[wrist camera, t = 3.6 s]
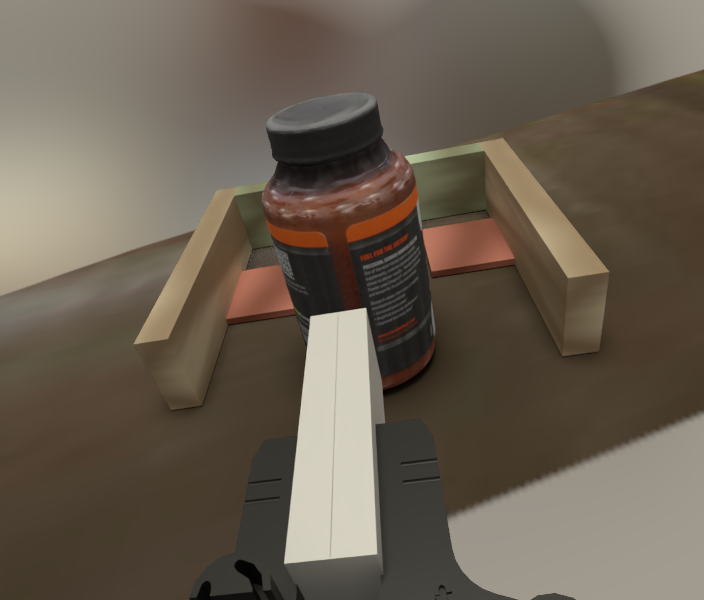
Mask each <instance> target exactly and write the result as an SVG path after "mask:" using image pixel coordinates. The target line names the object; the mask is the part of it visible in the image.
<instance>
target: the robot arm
mask: <svg viewBox="0 0 704 600" xmlns="http://www.w3.org/2000/svg"><path fill="white" fill-rule="evenodd" d="M248 483H249V486H248V487H247V492H246V497H245V505H244V508H243V513H242V518H241V523H240V529H239V534H238V539H237V544H236V550H235V553H233V554H230V555H226V556H223V557H221V558H220V559H218V560H217V561H215V562H214V563H213V564H211V565H210V566H208V567H207V568H206V570H205V571H204V572H203V573H202V575H201V576H200V577H199V578H198V580H197V581H196V583H195V585H194V588H193V590H192V593H191V595H190V597H189V599H190V600H517V599H513V598H510V597H506V596H502V595H498V594H495V593H492V592H490V591H487V590H484V589H482V588H481V587H479V586H478V585H476V584H475V583H473V582H472V581H471V580H470V579H469V578H468V577H467V576H466V575H465V574H464V573H463V572H462V570H461V569H460V567H459V565H458V563H457V562H456V560H455V557H454V553H453V550H452V545H451V540H450V533H449V528H448V522H447V516H446V510H445V504H444V498H443V492H442V486H441V481H440V475H439V469H438V463H437V457H436V451H435V445H434V439H433V436H432V434H431V433H430V431H429V430H428V429H427V427H426V426H425V424H424V423H423V422H422V420H421V419H413V420H405V421H398V422H390V423H385V417H384V403H383V390H382V380H381V375H380V371H379V366H378V361H377V356H376V352H375V347H374V342H373V338H372V333H371V328H370V324H369V319H368V314H367V310H366V308H362V309H355V310H349V311H342V312H336V313H329V314H323V315H316V316H311V318H310V327H309V336H308V346H307V355H306V364H305V374H304V383H303V392H302V401H301V411H300V420H299V429H298V436H292V437H285V438H277V439H269V440H265V441H264V442H263V444H262V446H261V447H260V449H259V451H258V452H257V454H256V455H255V457H254V459H253V460H252V466H251V471H250V476H249V481H248ZM532 600H575V599H574V598H571V597H567V596H564V595H560V594H556V593H552V594H545V595H538V596H536V597H535V598H533V599H532Z"/></svg>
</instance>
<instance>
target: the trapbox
mask: <svg viewBox="0 0 704 600" xmlns="http://www.w3.org/2000/svg"><path fill="white" fill-rule="evenodd" d="M404 157H405V158H406V159H407V160H408V161H409V163H410V164H411V166H412V169H413V171H414V176H415V179H416V185H417V193H418V200H419V207H420V215H421V221H422V220H428V219H434V218H440V217H446V216H452V215H458V214H464V213H469V212H475V211H481V210H487V212H488V214H489V216H490V218H488V219H482V220H476V221H470V222H464V223H458V224H452V225H446V226H440V227H434V228H428V229H422V231H423V238H424V246H425V250H426V254H427V258H428V262H429V266H430V270H431V274H432V278H433V277H439V276H446V275H452V274H458V273H465V272H471V271H478V270H484V269H490V268H497V267H503V266H509V265H515V266H516V268H517V270H518V272H519V274H520V276H521V278H522V279H523V281H524V283H525V285H526V287H527V289H528V291H529V293H530V295H531V297H532V299H533V301H534V303H535V305H536V306H537V308H538V310H539V312H540V314H541V316H542V318H543V320H544V322H545V324H546V326H547V328H548V330H549V331H550V333H551V335H552V337H553V339H554V341H555V343H556V345H557V347H558V349H559V351H560V353H561V355H562V356H569V355H576V354H584V353H591V352H598V351H599V348H600V340H601V332H602V324H603V317H604V309H605V301H606V293H607V285H608V277H609V271H608V270H607V268H606V267H605V266H604V265H603V263H602V262H601V261H600V260H599V258H598V257H597V256H596V255H595V253H594V252H593V251H592V250H591V248H590V247H589V246H588V245H587V243H586V242H585V241H584V240H583V238H582V237H581V236H580V235H579V233H578V232H577V231H576V230H575V228H574V227H573V226H572V225H571V223H570V222H569V221H568V220H567V218H566V217H565V216H564V215H563V213H562V212H561V211H560V210H559V208H558V207H557V206H556V205H555V203H554V202H553V201H552V199H551V198H550V197H549V196H548V194H547V193H546V192H545V191H544V189H543V188H542V187H541V186H540V184H539V183H538V182H537V181H536V179H535V178H534V177H533V176H532V174H531V173H530V172H529V171H528V169H527V168H526V167H525V166H524V164H523V163H522V162H521V161H520V159H519V158H518V157H517V156H516V154H515V153H514V152H513V151H512V149H511V148H510V147H509V146H508V144H507V143H506V142H505V141H504V139H497V140H492V141H486V142H481V143H475V144H470V145H464V146H459V147H453V148H448V149H443V150H437V151H432V152H426V153H421V154H415V155H410V156H404ZM267 183H268V181H267V182H262V183H256V184H250V185H245V186H240V187H234V188H229V189H223V190H218V191H216V193H215V195H214V197H213V199H212V201H211V202H210V204H209V206H208V208H207V210H206V212H205V214H204V215H203V217H202V219H201V221H200V223H199V225H198V226H197V228H196V230H195V232H194V234H193V236H192V237H191V239H190V241H189V243H188V245H187V247H186V249H185V250H184V252H183V254H182V256H181V258H180V260H179V261H178V263H177V265H176V267H175V269H174V271H173V273H172V274H171V276H170V278H169V280H168V282H167V284H166V285H165V287H164V289H163V291H162V293H161V295H160V296H159V298H158V300H157V302H156V304H155V306H154V308H153V309H152V311H151V313H150V315H149V317H148V319H147V320H146V322H145V324H144V326H143V328H142V330H141V332H140V333H139V335H138V337H137V339H136V341H135V343H134V346H135V348H136V349H137V351H138V353H139V355H140V356H141V358H142V360H143V362H144V363H145V365H146V367H147V369H148V371H149V372H150V374H151V376H152V378H153V379H154V381H155V383H156V385H157V386H158V388H159V390H160V392H161V393H162V395H163V397H164V399H165V400H166V402H167V404H168V406H169V407H170V409H171V410H175V409H182V408H190V407H197V406H202V405H203V401H204V398H205V395H206V392H207V389H208V386H209V383H210V380H211V377H212V373H213V370H214V367H215V364H216V361H217V358H218V355H219V352H220V348H221V345H222V342H223V339H224V336H225V333H226V330H227V327H228V325H230V324H236V323H243V322H249V321H256V320H262V319H269V318H275V317H282V316H288V315H295V314H296V313H295V310H294V307H293V303H292V301H291V298H290V294H289V291H288V288H287V285H286V282H285V278H284V275H283V273H282V269H281V267H280V265H275V266H269V267H263V268H257V269H251V270H246V267H247V264H248V261H249V258H250V255H251V252H252V249H256V248H262V247H268V246H274V245H273V241H272V239H271V234H270V230H269V228H268V225H267V222H266V219H265V215H264V211H263V206H262V195H263V192H264V190H265V187H266V184H267Z"/></svg>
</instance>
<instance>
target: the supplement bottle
mask: <svg viewBox="0 0 704 600" xmlns="http://www.w3.org/2000/svg"><path fill="white" fill-rule="evenodd" d="M266 129H267V133H268V137H269V140H270V143H271V148H272V156H273V158H274V159H275V160H276V161H278V164H277V167H276V170H275V173H274V175H273V176H272V178H271V179H270V180H269V181H268V183H267V184H266V187H265V190H264V192H263V195H262V206H263V211H264V215H265V219H266V222H267V225H268V228H269V230H270V234H271V239H272V241H273V245H274V248H275V251H276V254H277V257H278V261H279V263H280V267H281V269H282V273H283V275H284V278H285V282H286V285H287V288H288V291H289V294H290V298H291V301H292V303H293V307H294V310H295V313H296V317H297V320H298V323H299V325H300V328H301V331H302V335H303V338H304V341H305V344H306V347H307V346H308V336H309V327H310V318H311V316H316V315H323V314H329V313H336V312H342V311H349V310H355V309H362V308H366V310H367V314H368V319H369V324H370V328H371V333H372V338H373V342H374V347H375V352H376V356H377V361H378V366H379V371H380V375H381V380H382V390H385V389H388V388H392V387H394V386H398V385H399V384H402V383H404V382H406V381H407V380H409V379H411V378H412V377H414V376H415V375H416V374H418V373H419V372H420V371H421V370H422V369H423V368H424V367H425V366H426V364H427V363H428V362H429V361H430V359H431V357H432V355H433V352H434V349H435V343H436V337H435V323H434V316H433V308H432V299H431V292H430V284H429V276H428V269H427V261H426V254H425V246H424V238H423V231H422V222H421V215H420V207H419V200H418V193H417V185H416V179H415V176H414V171H413V169H412V166H411V164H410V163H409V161H408V160H407V159H406V158H405V157H404V156H403V155H402V154H400V153H398V152H397V151H395V150H392V149H390V148H389V147H388V146H387V144H386V143H385V142H384V140H383V139H382V138H381V137H382V135H383V127H382V125H381V122H380V116H379V110H378V104H377V100H376V99H375V97H373V96H371V95H369V94H364V93H343V94H335V95H329V96H324V97H320V98H315V99H311V100H308V101H304V102H301V103H298V104H295V105H293V106H290V107H288V108H286V109H284V110H282V111H280V112H277V113H276V114H275V115H273V116H272V117H271V118H270V119H269V120H268V121H267V123H266Z"/></svg>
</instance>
